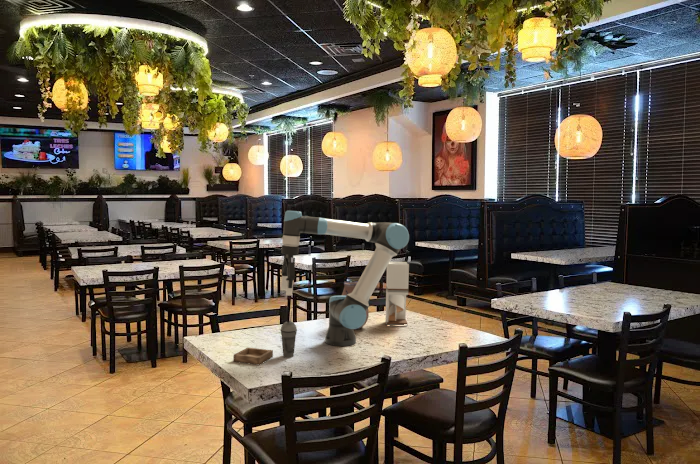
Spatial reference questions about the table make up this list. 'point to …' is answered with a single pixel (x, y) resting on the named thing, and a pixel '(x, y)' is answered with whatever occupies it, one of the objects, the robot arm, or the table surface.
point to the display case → (396, 292)
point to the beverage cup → (288, 338)
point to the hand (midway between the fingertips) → (286, 292)
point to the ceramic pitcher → (349, 289)
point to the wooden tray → (253, 356)
